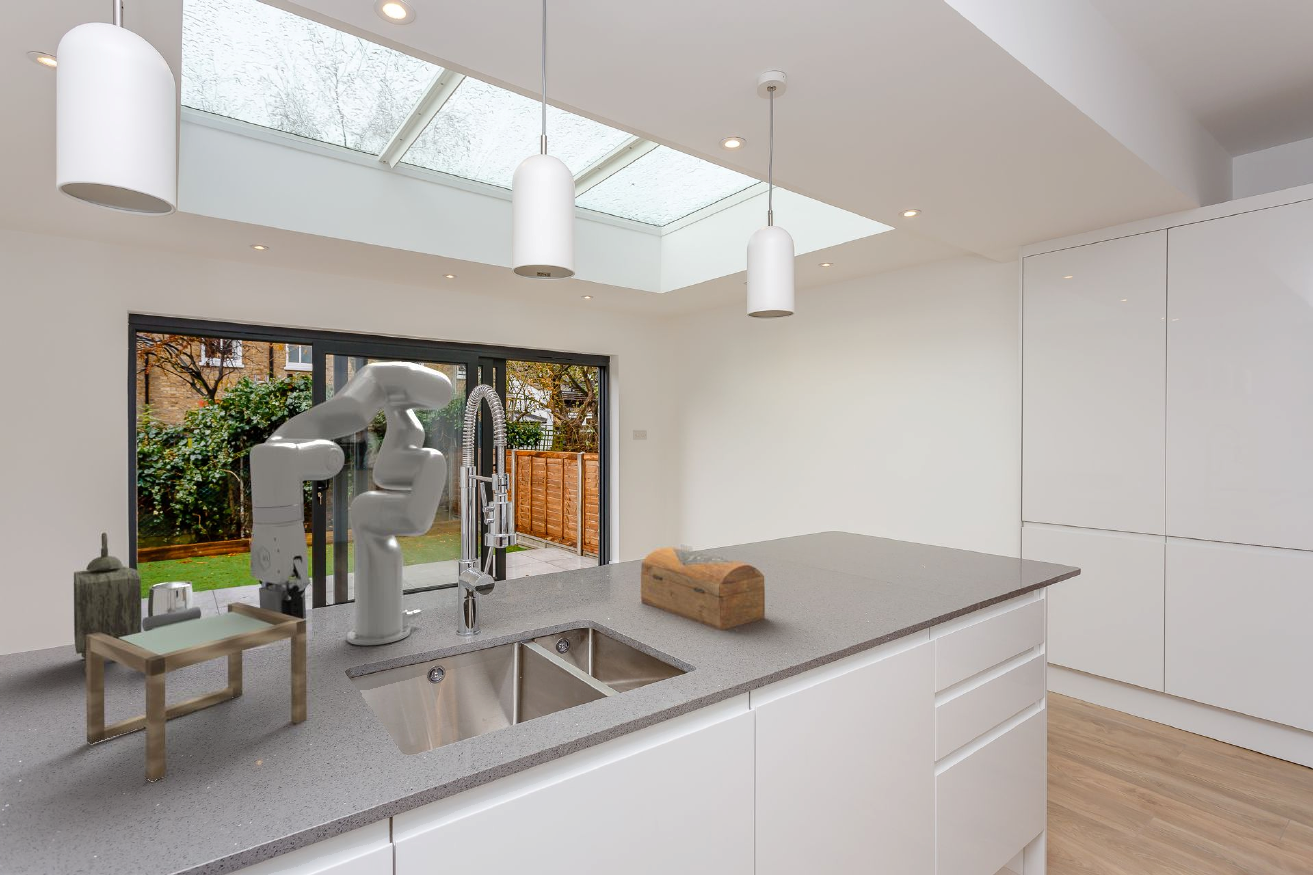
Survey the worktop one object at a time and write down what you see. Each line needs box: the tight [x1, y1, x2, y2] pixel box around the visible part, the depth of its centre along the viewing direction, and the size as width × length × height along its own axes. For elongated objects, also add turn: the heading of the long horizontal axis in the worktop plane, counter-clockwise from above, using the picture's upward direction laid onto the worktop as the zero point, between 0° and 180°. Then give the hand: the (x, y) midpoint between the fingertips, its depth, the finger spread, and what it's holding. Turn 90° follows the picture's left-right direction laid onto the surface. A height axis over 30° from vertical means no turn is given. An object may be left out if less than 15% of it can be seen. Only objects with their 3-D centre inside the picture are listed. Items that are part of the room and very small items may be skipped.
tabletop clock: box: [73, 532, 142, 673], centre depth 121 cm, size 14×9×25 cm, turn 45°
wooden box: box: [640, 547, 766, 630], centre depth 157 cm, size 30×16×14 cm, turn 38°
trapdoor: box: [119, 606, 273, 655], centre depth 94 cm, size 15×17×2 cm
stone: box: [258, 583, 307, 620], centre depth 109 cm, size 5×5×6 cm
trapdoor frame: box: [85, 601, 308, 782], centre depth 93 cm, size 20×20×16 cm
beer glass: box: [147, 580, 195, 617], centre depth 121 cm, size 7×7×15 cm
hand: (283, 616), depth 109 cm, fingers closed on stone, 5 cm apart
